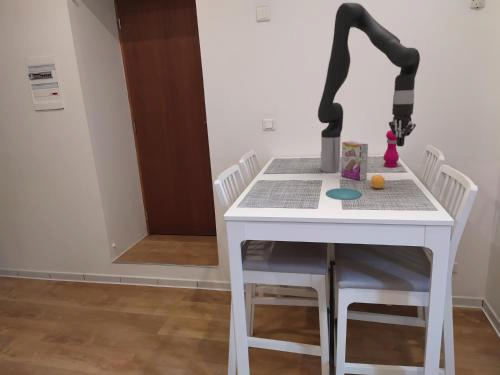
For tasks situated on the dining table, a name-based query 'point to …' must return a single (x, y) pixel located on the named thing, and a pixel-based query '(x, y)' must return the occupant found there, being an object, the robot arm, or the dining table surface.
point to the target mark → (343, 193)
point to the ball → (377, 181)
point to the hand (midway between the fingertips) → (400, 146)
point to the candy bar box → (354, 160)
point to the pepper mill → (391, 151)
